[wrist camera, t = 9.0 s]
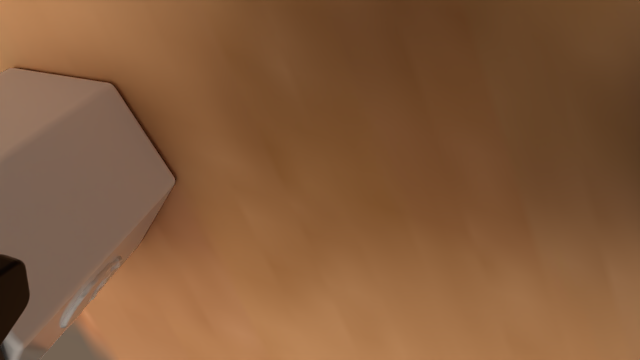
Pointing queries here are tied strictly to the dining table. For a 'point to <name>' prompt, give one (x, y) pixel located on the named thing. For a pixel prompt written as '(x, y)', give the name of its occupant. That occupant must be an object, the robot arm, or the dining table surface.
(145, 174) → the jar
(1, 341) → the robot arm
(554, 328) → the dining table surface
